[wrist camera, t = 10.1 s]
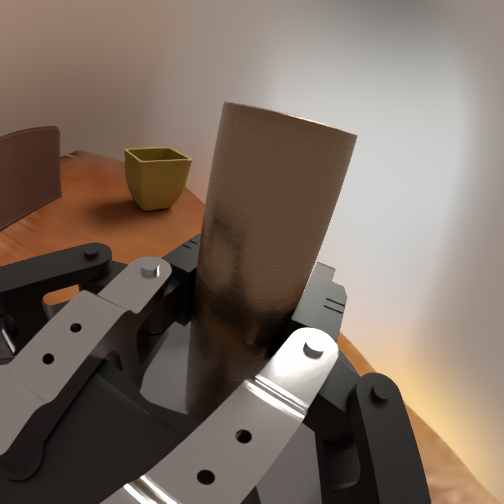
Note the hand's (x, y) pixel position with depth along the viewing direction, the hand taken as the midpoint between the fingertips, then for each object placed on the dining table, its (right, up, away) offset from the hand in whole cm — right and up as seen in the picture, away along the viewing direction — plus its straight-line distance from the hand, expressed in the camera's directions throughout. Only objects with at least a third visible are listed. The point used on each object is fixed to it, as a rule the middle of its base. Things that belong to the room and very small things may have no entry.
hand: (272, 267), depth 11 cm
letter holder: (-42, +7, +23) cm, 48 cm away
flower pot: (-18, +8, +35) cm, 40 cm away
